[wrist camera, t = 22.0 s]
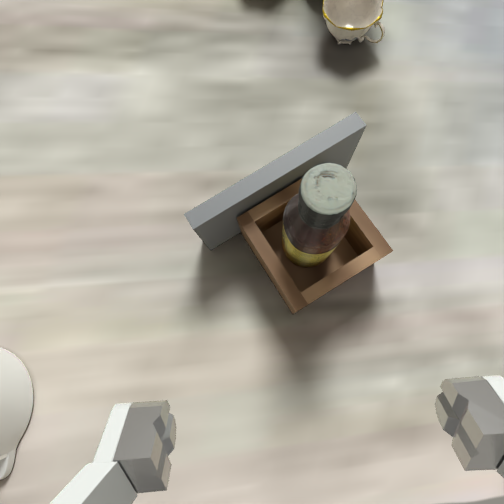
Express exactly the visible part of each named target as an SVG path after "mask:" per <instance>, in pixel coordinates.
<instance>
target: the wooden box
mask: <svg viewBox="0 0 504 504" xmlns="http://www.w3.org/2000/svg"><path fill="white" fill-rule="evenodd" d="M301 180H302V179H300V180H298V181H297V182H295V183H293V184H292V185H290V186H288V187H287V188H285V189H283V190H282V191H280V192H278V193H277V194H275V195H274V196H272V197H270V198H269V199H267V200H265V201H264V202H262V203H260V204H259V205H257V206H255V207H254V208H252V209H250V210H249V211H247V212H245V213H244V214H242V215H240V216H239V217H237V221H238V224H239V227H240V230H241V233H242V235H243V237H244V238H245V240H246V241H247V243H248V244H249V246H250V248H251V249H252V251H253V252H254V254H255V255H256V257H257V259H258V260H259V262H260V263H261V265H262V267H263V268H264V270H265V271H266V273H267V274H268V276H269V278H270V279H271V281H272V282H273V284H274V286H275V287H276V289H277V290H278V292H279V293H280V295H281V297H282V298H283V300H284V301H285V303H286V304H287V306H288V308H289V309H290V311H291V312H292V314H294V313H296V312H297V311H299V310H301V309H302V308H304V307H305V306H307V305H308V304H310V303H312V302H313V301H315V300H316V299H318V298H320V297H321V296H323V295H324V294H326V293H327V292H329V291H331V290H332V289H334V288H335V287H337V286H338V285H340V284H342V283H343V282H345V281H346V280H348V279H350V278H351V277H353V276H354V275H356V274H357V273H359V272H361V271H362V270H364V269H365V268H367V267H369V266H370V265H372V264H373V263H375V262H376V261H378V260H380V259H381V258H383V257H384V256H386V255H387V254H389V253H391V252H392V251H393V250H392V249H391V247H390V246H389V245H388V243H387V242H386V240H385V239H384V238H383V236H382V235H381V234H380V232H379V231H378V230H377V228H376V227H375V226H374V224H373V223H372V222H371V220H370V219H369V218H368V216H367V215H366V214H365V212H364V211H363V210H362V208H361V207H360V206H359V204H358V203H357V202H356V200H354V202H353V204H352V205H351V207H350V209H349V211H350V217H351V218H350V225H349V228H348V231H347V233H346V234H345V236H344V237H343V238H342V240H341V242H340V243H339V245H338V246H337V247H336V248H335V249H334V251H333V252H332V253H331V254H330V255H329V256H328V258H327V259H326V260H325V261H323V262H322V263H320V264H319V265H316V266H314V267H302V266H299V265H296V264H294V263H292V262H291V261H290V260H289V259H288V258H287V256H286V255H285V253H284V250H283V247H282V231H283V214H284V210H285V207H286V205H287V203H288V202H289V201H290V199H291V198H292V197H294V196H295V195H296V194H298V193H299V187H300V184H301Z"/></svg>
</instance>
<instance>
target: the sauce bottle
mask: <svg viewBox="0 0 504 504" xmlns="http://www.w3.org/2000/svg"><path fill="white" fill-rule="evenodd" d="M356 193H357V186H356V182H355V179H354V178H353V176H352V174H351V173H350V172H349V171H348V170H347V169H346V168H344V167H342V166H341V165H338V164H335V163H324V164H320V165H316V166H314V167H312V168H311V169H310V170H308V171H307V172H306V173H305V175H304V176H303V178H302V180H301V184H300V187H299V193H298V194H296V195H295V196H294V197H292V198H291V199H290V201H289V202H288V203H287V205H286V207H285V210H284V214H283V231H282V247H283V250H284V253H285V255H286V256H287V258H288V259H289V260H290V261H291V262H292V263H294V264H296V265H299V266H302V267H314V266H316V265H319V264H320V263H322V262H323V261H325V260H326V259H327V258H328V256H329V255H330V254H331V253H332V252H333V251H334V249H335V248H336V247H337V246H338V245H339V243H340V242H341V240H342V238H343V237H344V236H345V234H346V233H347V231H348V228H349V225H350V218H351V217H350V211H349V209H350V207H351V205H352V204H353V202H354V200H355V197H356Z"/></svg>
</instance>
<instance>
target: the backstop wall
mask: <svg viewBox="0 0 504 504" xmlns="http://www.w3.org/2000/svg"><path fill="white" fill-rule="evenodd" d="M365 127H366V124H365V123H364V121H363V120H362V119H361V118H360V116H359V115H358V114H357V113H356V112H355V113H353V114H351V115H349V116H348V117H346V118H344V119H343V120H341V121H339V122H338V123H336V124H334V125H333V126H331V127H329V128H328V129H326V130H324V131H323V132H321V133H319V134H318V135H316V136H314V137H313V138H311V139H309V140H308V141H306V142H304V143H302V144H301V145H299V146H297V147H296V148H294V149H292V150H291V151H289V152H287V153H286V154H284V155H282V156H281V157H279V158H277V159H276V160H274V161H272V162H271V163H269V164H267V165H266V166H264V167H262V168H261V169H259V170H257V171H255V172H254V173H252V174H250V175H249V176H247V177H245V178H244V179H242V180H240V181H239V182H237V183H235V184H234V185H232V186H230V187H229V188H227V189H225V190H224V191H222V192H220V193H219V194H217V195H215V196H214V197H212V198H210V199H208V200H207V201H205V202H203V203H202V204H200V205H198V206H197V207H195V208H193V209H192V210H190V211H188V212H187V213H185V214H184V215H185V217H186V218H187V220H188V222H189V223H190V225H191V227H192V228H193V230H194V231H195V232H196V233H197V235H198V236H199V237H200V238H201V239H202V241H203V242H204V243H205V244H206V245H207V247H208V248H209V249H210V250H212V249H214V248H215V247H217V246H219V245H220V244H222V243H223V242H225V241H227V240H228V239H230V238H232V237H233V236H235V235H237V234H238V233H240V232H241V230H240V227H239V224H238V221H237V217H239V216H240V215H242V214H244V213H245V212H247V211H249V210H250V209H252V208H254V207H255V206H257V205H259V204H260V203H262V202H264V201H265V200H267V199H269V198H270V197H272V196H274V195H275V194H277V193H278V192H280V191H282V190H283V189H285V188H287V187H288V186H290V185H292V184H293V183H295V182H297V181H298V180H300V179H302V178H303V176H304V175H305V173H306V172H307V171H308V170H310V169H311V168H312V167H314V166H316V165H320V164H324V163H335V164H338V165H341V166H342V167H344V168H347V166H348V164H349V162H350V159H351V157H352V155H353V153H354V151H355V149H356V147H357V144H358V142H359V140H360V138H361V136H362V134H363V132H364V129H365Z"/></svg>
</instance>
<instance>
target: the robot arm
mask: <svg viewBox="0 0 504 504" xmlns="http://www.w3.org/2000/svg"><path fill="white" fill-rule="evenodd" d="M440 387H441V389H442V391H443V392H442V393H441V394H439V395H438V396H437V398H436V402H435V407H436V414H437V417H438V420H439V422H440V424H441V426H442V428H443V430H444V431H446V432H447V433H448V434H450V435H451V436H452V437H453V440H452V447H453V449H454V451H455V453H456V455H457V457H458V459H459V461H460V462H461V464H462V466H463V468H464V470H465V471H469V470H496V469H498V470H497V472H498V473H499V474H500V475H501V476H502V477H503V478H504V378H503V377H501V376H499V375H492V376H481V377H479V376H475V377H465V378H454V379H445V380H444V381H442V384H441V386H440ZM32 407H33V387H32V382H31V378H30V376H29V373H28V371H27V369H26V367H25V366H24V364H23V363H22V362H21V360H20V359H19V358H18V357H17V356H16V355H14V354H13V353H11V352H10V351H8V350H6V349H3V348H0V480H1V479H4V478H6V477H7V476H8V475H9V474H10V473H11V471H12V468H13V464H14V459H15V453H16V448H17V445H18V443H19V441H20V439H21V437H22V435H23V433H24V432H25V430H26V428H27V425H28V423H29V420H30V416H31V413H32ZM169 410H170V405H169V403H168V401H167V400H165V401H150V402H131V403H118V404H115V406H114V407H113V409H112V410H111V413H110V416H109V419H108V421H107V424H106V427H105V430H104V432H103V435H102V438H101V440H100V443H99V446H98V449H97V451H96V454H95V457H94V460H93V462H92V463H87V464H86V465H85V466H84V467H83V468H82V469H81V471H80V472H79V473H78V474H77V475H76V476H75V477H74V478H73V479H72V480H71V481H70V482H69V483H68V484H67V486H66V487H65V488H64V489H63V490H62V491H61V492H60V493H59V494H58V495H57V496H56V497H55V498H54V499H53V501H52V502H51V503H50V504H132V503H133V501H134V500H135V498H136V497H137V493H144V492H155V491H165V490H167V487H168V481H169V476H170V470H171V463H170V460H169V458H168V456H169V454H170V453H171V452H172V451H173V449H174V447H175V440H176V423H175V418H174V416H173V415H172V414H170V413H169Z"/></svg>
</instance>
